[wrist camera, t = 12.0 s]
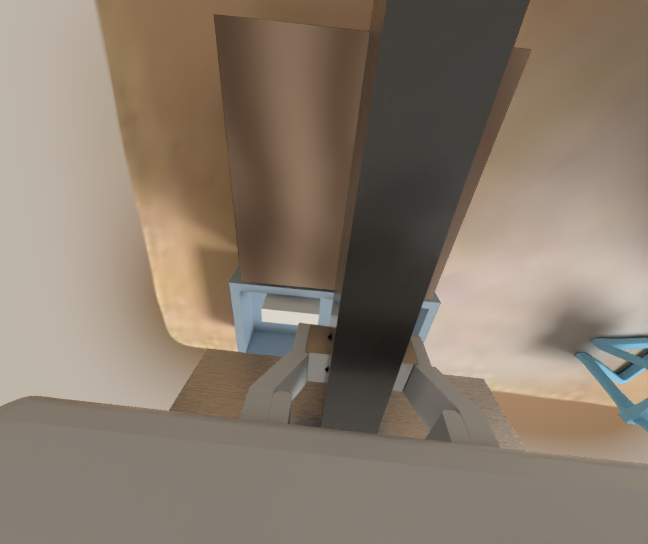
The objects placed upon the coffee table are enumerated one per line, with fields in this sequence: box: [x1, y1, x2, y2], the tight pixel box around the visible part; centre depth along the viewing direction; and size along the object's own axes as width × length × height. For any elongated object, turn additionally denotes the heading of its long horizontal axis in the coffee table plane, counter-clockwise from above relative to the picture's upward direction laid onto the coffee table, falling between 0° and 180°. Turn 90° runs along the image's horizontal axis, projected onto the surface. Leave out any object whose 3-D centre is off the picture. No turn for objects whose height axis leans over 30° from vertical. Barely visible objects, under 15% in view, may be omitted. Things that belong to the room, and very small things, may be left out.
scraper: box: [169, 0, 530, 451], centre depth 9 cm, size 18×16×4 cm
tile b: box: [261, 293, 320, 325], centre depth 24 cm, size 5×5×2 cm
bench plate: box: [214, 14, 531, 299], centre depth 19 cm, size 16×16×5 cm
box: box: [229, 266, 441, 357], centre depth 27 cm, size 19×10×4 cm, turn 85°
